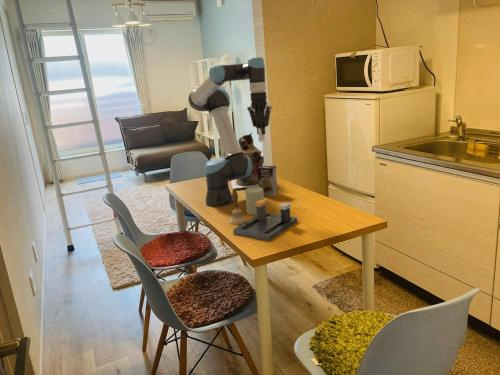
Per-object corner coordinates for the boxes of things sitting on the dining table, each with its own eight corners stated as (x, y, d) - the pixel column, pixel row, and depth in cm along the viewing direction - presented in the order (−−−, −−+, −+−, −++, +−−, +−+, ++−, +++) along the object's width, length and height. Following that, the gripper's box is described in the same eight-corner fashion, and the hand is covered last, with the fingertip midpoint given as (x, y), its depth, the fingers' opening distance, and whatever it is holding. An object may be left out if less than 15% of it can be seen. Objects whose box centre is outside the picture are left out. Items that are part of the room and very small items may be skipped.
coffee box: (259, 195, 226) (256, 167, 221) (262, 192, 231) (260, 165, 227) (274, 196, 222) (272, 168, 218) (277, 192, 228) (276, 165, 223)
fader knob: (256, 220, 183) (254, 202, 181) (262, 217, 187) (260, 199, 185) (262, 221, 182) (260, 203, 179) (267, 218, 185) (266, 200, 183)
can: (267, 208, 203) (265, 186, 200) (261, 215, 194) (260, 191, 191) (250, 208, 206) (248, 185, 203) (244, 214, 198) (242, 191, 194)
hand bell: (235, 226, 183) (232, 192, 179) (225, 221, 190) (222, 189, 185) (250, 221, 188) (247, 188, 183) (240, 217, 194) (237, 185, 190)
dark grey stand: (233, 233, 174) (231, 212, 172) (263, 215, 193) (262, 196, 190) (268, 241, 164) (267, 218, 161) (297, 221, 182) (296, 201, 179)
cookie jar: (230, 180, 263) (225, 132, 254) (266, 176, 265) (263, 128, 257) (232, 190, 240) (227, 138, 231) (273, 186, 242) (269, 133, 233)
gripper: (242, 93, 189) (246, 142, 196) (265, 91, 182) (268, 143, 188) (251, 91, 195) (255, 139, 202) (274, 90, 188) (277, 140, 194)
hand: (261, 141), depth 195 cm, fingers closed
